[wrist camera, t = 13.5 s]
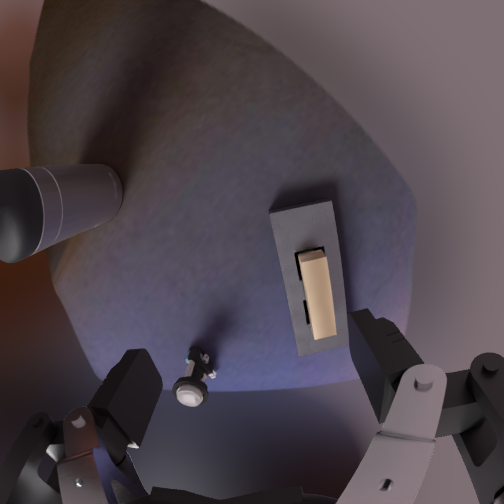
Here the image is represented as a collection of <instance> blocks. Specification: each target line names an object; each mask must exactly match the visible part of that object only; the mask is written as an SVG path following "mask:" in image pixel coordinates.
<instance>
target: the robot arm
mask: <svg viewBox="0 0 504 504" xmlns="http://www.w3.org/2000/svg"><path fill="white" fill-rule="evenodd" d="M122 198H123V190H122V184H121V181H120V178H119V177H118V175H117V173H116V172H115V171H114V170H113V169H112V168H111V167H109V166H107V165H104V164H70V165H51V166H37V167H27V168H15V169H7V170H0V259H1V260H2V261H4V262H7V263H14V262H18V261H20V260H22V259H24V258H26V257H28V256H30V255H32V254H35V253H37V252H39V251H41V250H43V249H45V248H47V247H49V246H51V245H54V244H56V243H58V242H60V241H62V240H65V239H67V238H69V237H72V236H74V235H76V234H79V233H81V232H83V231H86V230H88V229H91V228H93V227H96V226H98V225H101V224H103V223H106V222H108V221H110V220H111V219H112V218H113V217H114V216H115V215H116V214H117V212H118V211H119V209H120V206H121V203H122ZM348 332H349V348H350V354H351V358H352V361H353V363H354V365H355V368H356V370H357V372H358V374H359V377H360V379H361V381H362V384H363V386H364V388H365V391H366V393H367V395H368V398H369V400H370V402H371V405H372V407H373V410H374V412H375V415H376V417H377V420H378V422H379V424H380V423H383V422H384V425H383V427H382V429H381V431H380V432H377V434H376V435H375V437H374V439H373V440H372V442H371V444H370V446H369V448H368V450H367V452H366V454H365V456H364V458H363V460H362V462H361V463H360V465H359V467H358V469H357V471H356V472H355V474H354V476H353V477H352V479H351V481H350V482H349V484H348V486H347V487H346V489H345V490H344V492H343V493H342V495H341V497H340V498H339V499H338V500H337V499H334V498H330V497H326V496H321V495H314V494H303V491H302V488H301V486H298V487H292V488H284V489H275V490H265V491H258V492H254V493H251V494H247V495H243V496H238V497H233V498H229V499H223V500H218V499H213V498H209V497H205V496H202V495H198V494H195V493H191V492H188V491H185V490H177V489H168V488H160V487H153V488H152V491H151V494H150V495H149V494H148V492H147V491H146V490H145V488H144V486H143V485H142V482H141V480H140V478H139V476H138V474H137V471H136V469H135V467H134V464H133V462H132V460H131V458H130V455H129V454H128V453H127V452H126V450H127V447H133V448H140V446H141V443H142V440H143V438H144V435H145V432H146V430H147V427H148V424H149V422H150V419H151V416H152V414H153V412H154V409H155V406H156V404H157V401H158V399H159V396H160V394H161V391H162V387H163V384H162V378H161V376H160V374H159V372H158V370H157V368H156V366H155V364H154V363H153V361H152V359H151V357H150V355H149V353H148V351H147V350H146V349H130V350H127V351H126V352H125V354H124V356H123V357H122V359H121V360H120V362H119V363H117V364H116V365H115V366H114V367H113V368H112V369H111V370H110V372H109V373H108V375H107V376H106V379H104V381H103V382H102V385H101V386H100V387H99V389H98V390H97V392H96V393H95V395H94V397H93V398H92V400H91V401H90V403H89V405H88V406H87V407H78V408H75V409H73V410H72V411H70V412H69V413H68V414H67V416H66V417H65V419H64V420H63V421H55V422H54V421H53V420H52V418H51V417H50V416H49V415H48V414H47V413H45V412H39V413H36V414H34V415H33V416H32V417H31V418H30V419H29V420H28V421H27V423H26V425H25V426H24V428H23V429H22V431H21V432H20V434H19V436H18V437H17V439H16V441H15V442H14V444H13V445H12V447H11V449H10V450H9V452H8V454H7V455H6V457H5V459H4V461H3V462H2V464H1V466H0V504H413V503H414V501H415V498H416V496H417V494H418V491H419V489H420V487H421V484H422V482H423V479H424V476H425V474H426V471H427V468H428V466H429V462H430V460H431V457H432V453H433V450H434V446H435V440H434V438H436V437H442V436H447V435H452V436H453V439H454V441H455V443H456V445H457V447H458V450H459V452H460V454H461V456H462V459H463V461H464V463H465V466H466V468H467V471H468V473H469V475H470V478H471V481H472V483H473V486H474V489H475V491H476V494H477V497H478V500H479V502H480V504H504V358H503V357H502V356H501V355H499V354H496V353H483V354H480V355H479V356H477V357H476V358H474V360H473V361H472V363H471V366H470V369H468V370H463V371H458V372H453V373H444V371H443V370H442V369H441V368H439V367H437V366H435V365H432V364H424V362H423V361H422V359H421V358H420V357H419V355H418V354H417V353H416V351H415V350H414V349H413V347H412V346H411V345H410V343H409V342H408V341H407V339H405V337H404V335H403V334H402V333H400V330H399V329H398V328H397V327H396V325H395V324H394V323H393V322H391V321H389V320H387V319H385V318H383V317H382V318H379V319H375V318H374V316H373V315H372V313H371V312H370V311H369V309H367V308H366V309H362V310H359V311H355V312H351V313H348ZM46 452H47V453H48V454H49V455H50V456H51V457H52V458H53V459H54V460H55V461H56V464H55V466H54V468H53V470H52V473H51V475H50V477H49V479H48V481H47V484H46V483H45V482H43V481H42V480H41V479H40V478H39V476H38V473H37V469H38V466H39V464H40V462H41V460H42V458H43V456H44V455H45V453H46Z"/></svg>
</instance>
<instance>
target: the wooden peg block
mask: <svg viewBox="0 0 504 504" xmlns="http://www.w3.org/2000/svg"><path fill="white" fill-rule="evenodd" d="M298 258H299V263H300V269H301V274H302V279H303V284H304V290H305V295H306V301H307V307H308V313H309V318H310V324H311V329H312V333H313V336H314V339H315V340H317V339H321V338H325V337H329V336H333V335H337V333H336V323H335V314H334V306H333V298H332V290H331V283H330V276H329V269H328V263H327V257H326V255H325V254H324V253H323V251H322V250H317V251H314V250H313V249H311V250H306V251H302V252H299V255H298Z"/></svg>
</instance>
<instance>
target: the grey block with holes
mask: <svg viewBox="0 0 504 504" xmlns="http://www.w3.org/2000/svg"><path fill="white" fill-rule="evenodd" d="M269 215H270V220H271V224H272V229H273V233H274V238H275V242H276V247H277V251H278V256H279V261H280V265H281V270H282V275H283V280H284V284H285V289H286V294H287V299H288V304H289V309H290V314H291V319H292V324H293V329H294V334H295V339H296V344H297V350H298V355H299V356H302V355H307V354H311V353H316V352H320V351H324V350H329V349H333V348H337V347H340V346H344V345H348V344H349V337H348V323H347V310H346V299H345V290H344V280H343V272H342V264H341V256H340V249H339V242H338V235H337V229H336V222H335V216H334V211H333V205H332V201H331V200H329V199H321V200H316V201H311V202H306V203H301V204H297V205H292V206H287V207H283V208H278V209H273V210H269ZM317 247H320V248H321V250H322V251H323V253H324V254H325V255H326V257H327V263H328V269H329V276H330V283H331V290H332V298H333V306H334V314H335V323H336V333H337V335H333V336H329V337H325V338H321V339H317V340H315V339H314V336H313V333H312V329H311V324H310V318H309V313H308V314H305V310H304V304H303V300H306V295H305V290H304V284H303V279H302V274H301V272H298V271H297V266H296V261H295V256H294V252H299V251H303V250H308V249H312V248H317Z"/></svg>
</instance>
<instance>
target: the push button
mask: <svg viewBox="0 0 504 504" xmlns="http://www.w3.org/2000/svg"><path fill="white" fill-rule="evenodd" d="M206 356H207V358H206ZM185 360H186V361H187V365H188V366H187V368H186V371H185V374H184V377H181V378H179V379H178V380H177V382H176V383H175V384H174V386H173V389H172V391H173V394H174V396H175V397H176V398H177V399H178V400H179V401H180V402H181V403H182V404H184V405H187V406H197V405H202V404H204V403H205V402H206V401H207V399H208V391H207V385H206V384H205V383H204V381H205V378H206V377H207V375H209V376H210V377H211V378H212V379H213V378H215V374H216V372H215V371H214V370H213V367H212V366H213V365H212V364H211V362H210V361H209V356H208V355H207V354H205V355H203V354H202V353H201V349H200V348H199V347H198V346H197V347H195V348H193V349H191V350H189V351H188V352H187V355H186V358H185ZM213 372H214V373H213ZM212 375H213V377H212ZM179 386H180V387H179ZM202 393H204V394H203V395H202Z"/></svg>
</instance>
